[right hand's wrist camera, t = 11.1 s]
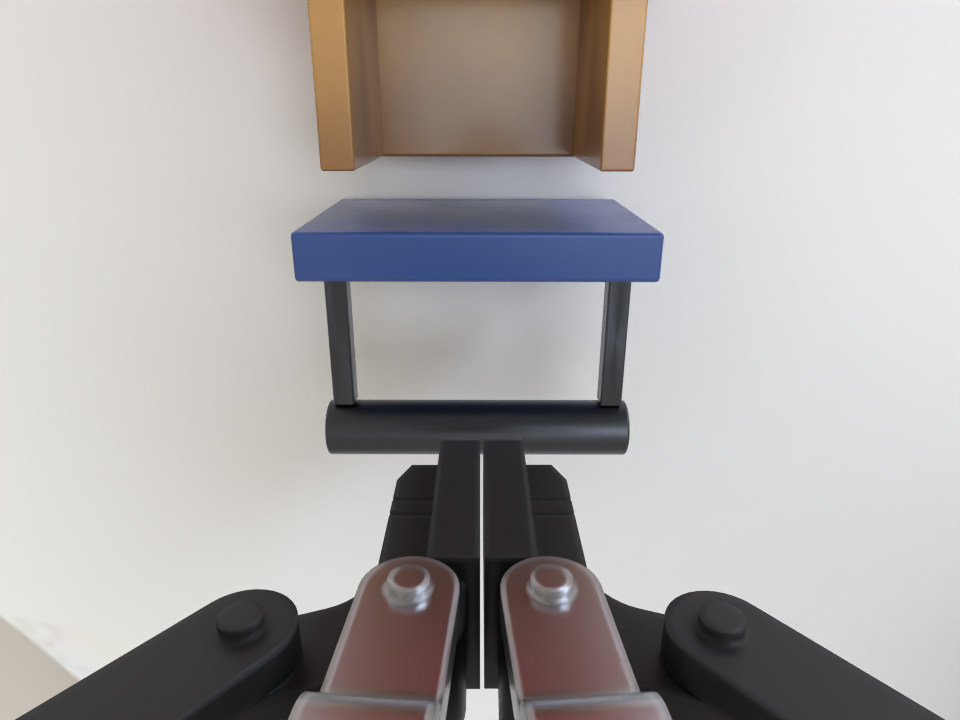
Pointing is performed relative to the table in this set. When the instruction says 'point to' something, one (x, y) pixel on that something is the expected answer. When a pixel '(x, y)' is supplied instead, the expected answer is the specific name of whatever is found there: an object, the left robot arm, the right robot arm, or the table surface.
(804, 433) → the table surface
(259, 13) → the table surface
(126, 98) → the table surface
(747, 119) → the table surface
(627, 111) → the drawer
